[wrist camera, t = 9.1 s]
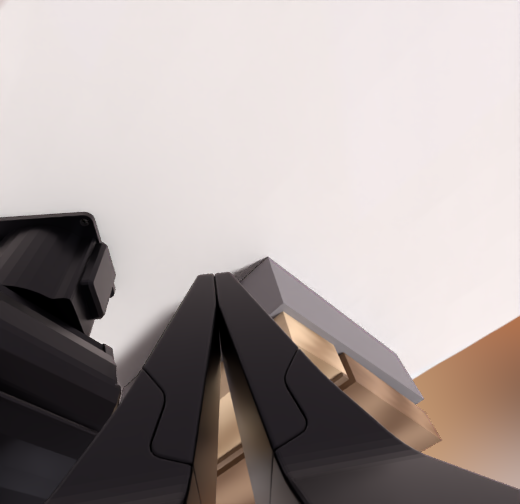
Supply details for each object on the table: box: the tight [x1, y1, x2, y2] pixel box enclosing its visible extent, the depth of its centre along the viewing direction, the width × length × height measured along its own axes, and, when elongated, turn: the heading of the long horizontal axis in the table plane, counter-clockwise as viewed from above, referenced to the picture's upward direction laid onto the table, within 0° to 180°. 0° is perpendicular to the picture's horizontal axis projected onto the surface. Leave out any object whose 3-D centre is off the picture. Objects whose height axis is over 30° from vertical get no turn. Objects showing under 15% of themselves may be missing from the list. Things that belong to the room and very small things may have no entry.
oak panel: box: [217, 312, 349, 471], centre depth 24 cm, size 5×17×3 cm, turn 135°
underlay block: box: [121, 257, 424, 405], centre depth 30 cm, size 19×18×5 cm
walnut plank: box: [216, 353, 442, 504], centre depth 29 cm, size 12×17×2 cm
